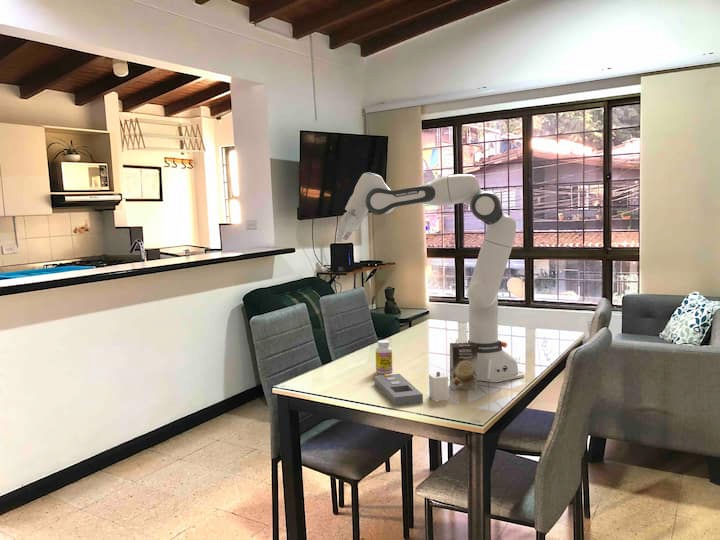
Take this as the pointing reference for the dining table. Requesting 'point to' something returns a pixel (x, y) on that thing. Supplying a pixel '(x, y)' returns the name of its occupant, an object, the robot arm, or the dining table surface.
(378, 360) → the supplement bottle
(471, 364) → the coffee box
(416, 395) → the power strip
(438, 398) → the block
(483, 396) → the dining table surface
